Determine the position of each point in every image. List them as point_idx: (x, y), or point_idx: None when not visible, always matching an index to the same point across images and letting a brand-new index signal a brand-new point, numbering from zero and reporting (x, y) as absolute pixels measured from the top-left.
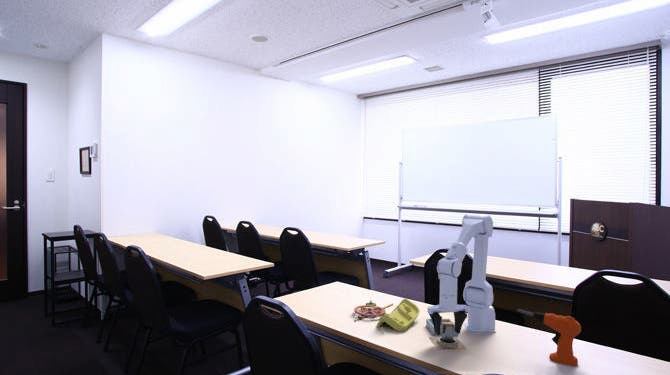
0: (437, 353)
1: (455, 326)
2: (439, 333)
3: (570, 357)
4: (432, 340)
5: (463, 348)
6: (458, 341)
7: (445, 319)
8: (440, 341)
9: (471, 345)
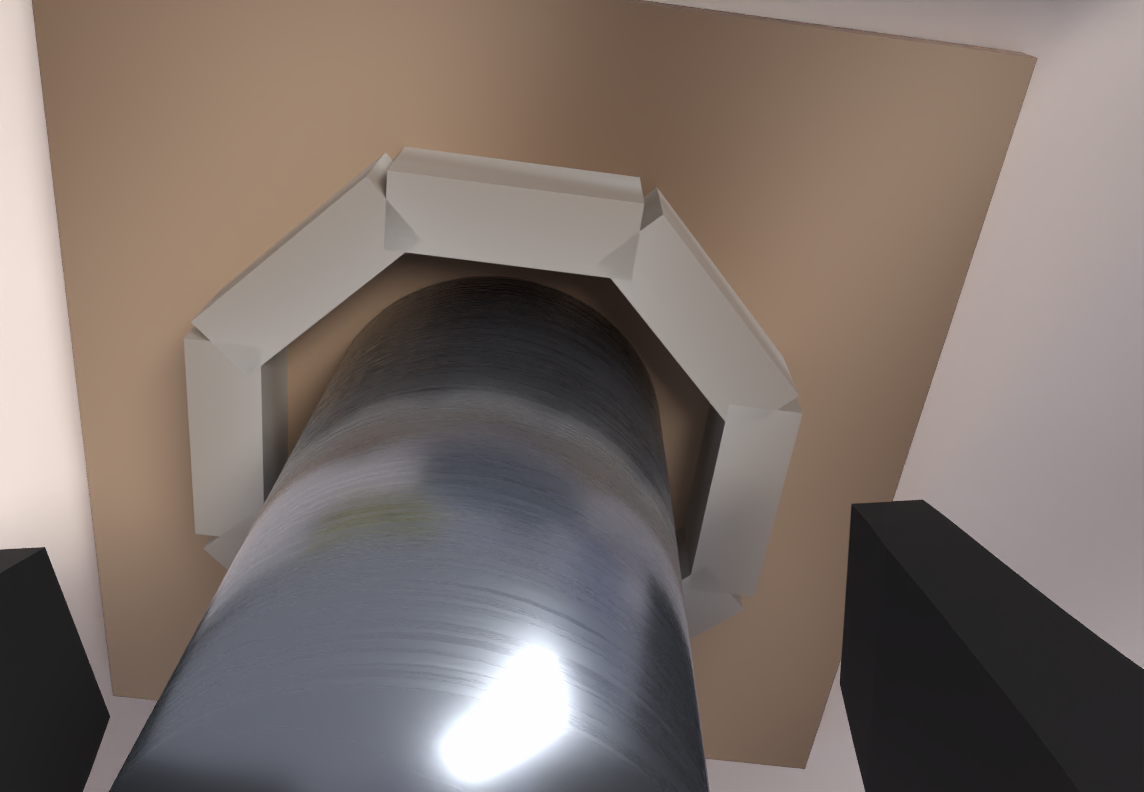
0: (90, 774)
1: (929, 664)
2: (61, 788)
3: None
4: (100, 208)
5: (742, 730)
6: (885, 371)
7: None
8: (240, 526)
9: (1105, 539)
